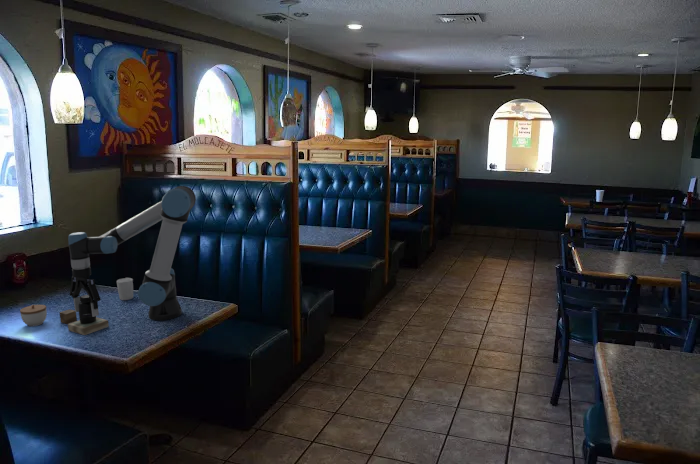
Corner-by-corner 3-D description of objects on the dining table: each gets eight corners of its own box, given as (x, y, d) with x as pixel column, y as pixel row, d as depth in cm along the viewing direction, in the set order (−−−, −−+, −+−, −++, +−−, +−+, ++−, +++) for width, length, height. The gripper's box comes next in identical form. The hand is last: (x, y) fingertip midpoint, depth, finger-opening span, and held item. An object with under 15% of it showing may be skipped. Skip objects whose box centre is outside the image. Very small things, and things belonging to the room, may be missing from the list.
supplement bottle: (85, 325, 248) (82, 299, 246) (76, 322, 252) (73, 297, 250) (99, 320, 254) (96, 295, 252) (91, 318, 258) (88, 293, 255)
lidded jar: (20, 323, 262) (17, 304, 260) (46, 318, 268) (43, 299, 266) (24, 330, 254) (21, 310, 252) (50, 324, 260) (47, 305, 258)
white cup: (128, 300, 292) (126, 282, 290) (115, 300, 293) (113, 282, 291) (137, 296, 299) (135, 278, 297) (124, 295, 301) (122, 277, 299)
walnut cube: (77, 320, 264) (75, 310, 263) (67, 324, 260) (65, 314, 259) (70, 319, 267) (69, 309, 266) (60, 322, 263) (59, 312, 262)
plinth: (108, 326, 255) (108, 319, 255) (84, 335, 245) (83, 328, 245) (92, 322, 262) (92, 315, 261) (68, 330, 252) (67, 323, 251)
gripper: (105, 268, 245) (111, 315, 249) (72, 262, 257) (78, 306, 262) (90, 272, 238) (95, 320, 243) (57, 266, 251) (63, 311, 255)
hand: (86, 313), depth 252 cm, fingers open, 12 cm apart
